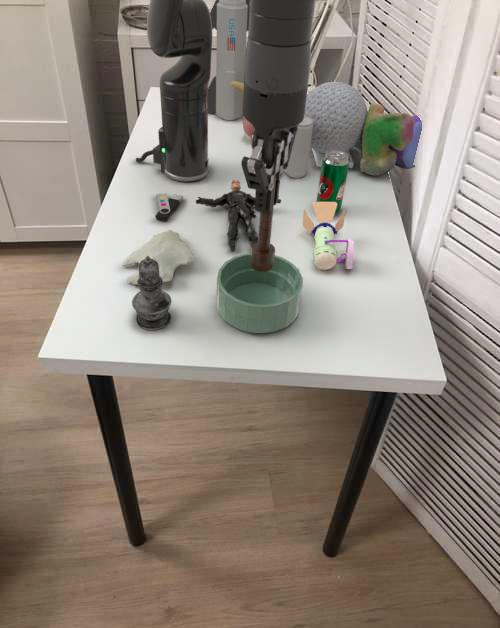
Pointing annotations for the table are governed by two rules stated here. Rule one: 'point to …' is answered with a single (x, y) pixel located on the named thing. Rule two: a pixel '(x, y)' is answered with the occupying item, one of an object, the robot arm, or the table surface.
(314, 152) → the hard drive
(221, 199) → the action figure
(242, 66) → the rocket model
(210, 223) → the table surface
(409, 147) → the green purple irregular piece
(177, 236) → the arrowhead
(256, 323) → the bowl
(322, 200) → the soda can
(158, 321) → the chess piece
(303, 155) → the beverage can
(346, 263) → the spotlight
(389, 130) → the sculpture
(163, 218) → the usb flash drive
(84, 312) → the table surface
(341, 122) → the decorative ball
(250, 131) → the apple
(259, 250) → the muddler
